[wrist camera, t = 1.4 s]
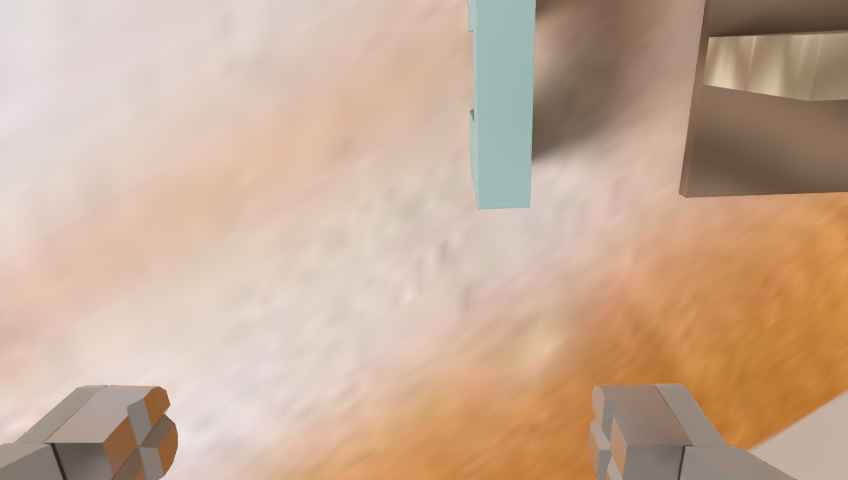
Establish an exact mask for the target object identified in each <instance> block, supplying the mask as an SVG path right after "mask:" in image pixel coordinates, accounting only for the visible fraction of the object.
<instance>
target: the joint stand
mask: <svg viewBox="0 0 848 480" xmlns="http://www.w3.org/2000/svg"><path fill="white" fill-rule="evenodd" d="M826 192H848V0H706V3H705V10H704V17H703V24H702V32H701V39H700V46H699V53H698V60H697V67H696V75H695V82H694V89H693V96H692V103H691V110H690V118H689V125H688V132H687V139H686V146H685V153H684V161H683V168H682V175H681V182H680V189H679V194H681V195H683V196H684V197H686V198H690V197H717V196H744V195H771V194H799V193H826Z"/></svg>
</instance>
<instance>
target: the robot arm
mask: <svg viewBox="0 0 848 480" xmlns="http://www.w3.org/2000/svg"><path fill="white" fill-rule="evenodd" d="M169 406H170V402H169V399H168V395H167V392H166V390H164V389H163V388H161V387H159V386H114V385H111V386H107V385H86V386H83V387H79V388H76V389H75V390H74V391H73V392H72V393H71V394H70V395H68V396H67V397H66V398H65V399H64V400H63V401H61V402H60V403H59V404H58V405H57V406H56V407H55V408H53V409H52V410H51V411H50V412H49V413H48V414H47V415H45V416H44V417H43V418H42V419H41V420H40V421H38V422H37V423H36V424H35V425H34V426H33V427H32V428H30V429H29V430H28V431H27V432H26V433H25V434H23V435H22V436H21V437H20V438H19V439H18V440H17V441H15V442H14V443H13V444H3V445H1V446H0V480H159V479H160V478H162V477H163V476H165V474H166V473H167V471H168V470H169V468H170V466H171V465H172V463H173V461H174V457H175V454H176V451H177V447H178V434H177V430H176V425H175V423H174V422H173V421H172V420H171V419H169V418H168V417H167V416H166V415H165V413H166V412H167V410H168V408H169ZM592 407H593V410H594V412H595V414H596V418H595V420H594V421H593V422H592V423H591V424H590V428H589V449H590V458H591V462H592V467H593V470H594V473H595V476H596V479H597V480H796V479H794V478H793V477H791V476H789V475H787V474H786V473H784V472H782V471H780V470H779V469H777V468H775V467H773V466H772V465H769V464H768V463H766V462H765V461H763V460H761V459H759V458H758V457H756V456H754V455H752V454H751V453H749V452H747V451H745V450H744V449H742V448H740V447H730V446H729V445H728V444H727V443H726V441H725V440H724V439H723V437H722V436H721V435H720V433H719V432H718V431H717V429H716V428H715V427H714V425H713V424H712V422H711V421H710V420H709V418H708V417H707V416H706V414H705V413H704V412H703V410H702V409H701V408H700V406H699V405H698V404H697V402H696V401H695V399H694V398H693V397H692V395H691V394H690V393H689V391H688V390H687V389H686V387H685V386H683V385H681V384H680V383H676V384H651V385H620V386H595V388H594V391H593V395H592Z"/></svg>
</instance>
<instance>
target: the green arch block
mask: <svg viewBox="0 0 848 480" xmlns="http://www.w3.org/2000/svg"><path fill="white" fill-rule="evenodd" d="M535 9H536V0H468V32H470V31H473V70H474V111H470V152H471V174H472V179H473V184H474V189H475V194H476V199H477V204H478V209H504V208H530V190H531V154H532V118H533V81H534V45H535Z"/></svg>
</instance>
